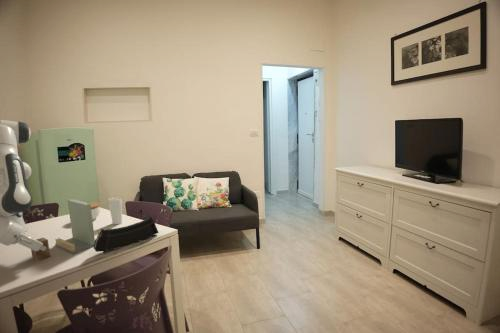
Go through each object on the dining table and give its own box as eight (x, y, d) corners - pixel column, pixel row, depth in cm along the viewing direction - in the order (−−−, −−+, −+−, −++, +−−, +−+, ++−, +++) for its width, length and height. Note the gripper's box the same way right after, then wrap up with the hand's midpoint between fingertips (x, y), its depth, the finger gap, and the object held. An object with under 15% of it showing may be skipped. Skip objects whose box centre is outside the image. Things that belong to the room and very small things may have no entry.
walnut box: (35, 261, 121) (33, 244, 120) (31, 259, 124) (28, 241, 123) (50, 256, 126) (47, 239, 125) (45, 254, 129) (43, 237, 127)
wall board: (73, 253, 128) (67, 209, 125) (55, 245, 138) (49, 204, 134) (95, 245, 136) (90, 203, 133) (77, 238, 146) (71, 199, 143)
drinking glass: (118, 225, 163) (116, 200, 161) (108, 224, 164) (105, 200, 162) (126, 221, 169) (123, 197, 167) (116, 220, 171) (113, 197, 168)
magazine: (158, 216, 150) (99, 214, 127) (161, 217, 147) (102, 215, 125) (152, 248, 148) (92, 252, 126) (155, 250, 146) (94, 254, 124)
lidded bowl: (104, 218, 175) (102, 201, 174) (81, 224, 166) (79, 206, 165) (97, 214, 184) (95, 198, 182) (75, 219, 175) (73, 202, 173)
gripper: (26, 231, 111) (57, 245, 121) (7, 222, 122) (37, 236, 132) (14, 246, 108) (46, 259, 118) (-4, 236, 119) (27, 248, 129)
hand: (41, 247), depth 125 cm, fingers closed on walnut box, 5 cm apart
